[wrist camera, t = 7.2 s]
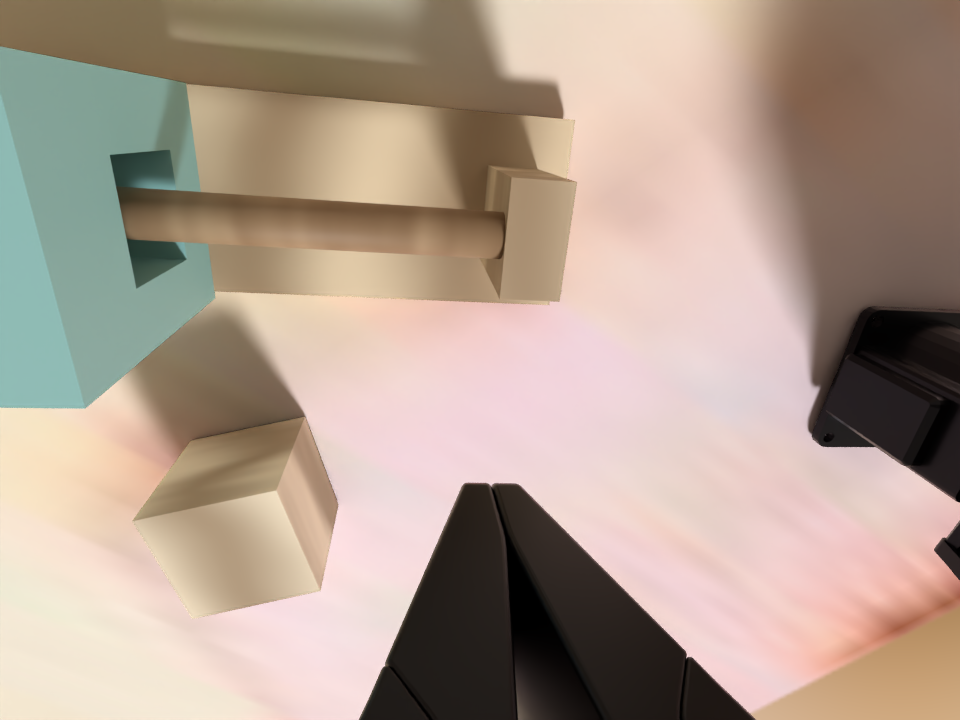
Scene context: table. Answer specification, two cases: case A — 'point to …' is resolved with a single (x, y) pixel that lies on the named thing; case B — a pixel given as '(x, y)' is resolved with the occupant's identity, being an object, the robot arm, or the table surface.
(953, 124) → the table surface
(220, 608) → the maple cube
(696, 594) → the table surface
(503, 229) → the rail
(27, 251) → the bead
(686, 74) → the table surface
